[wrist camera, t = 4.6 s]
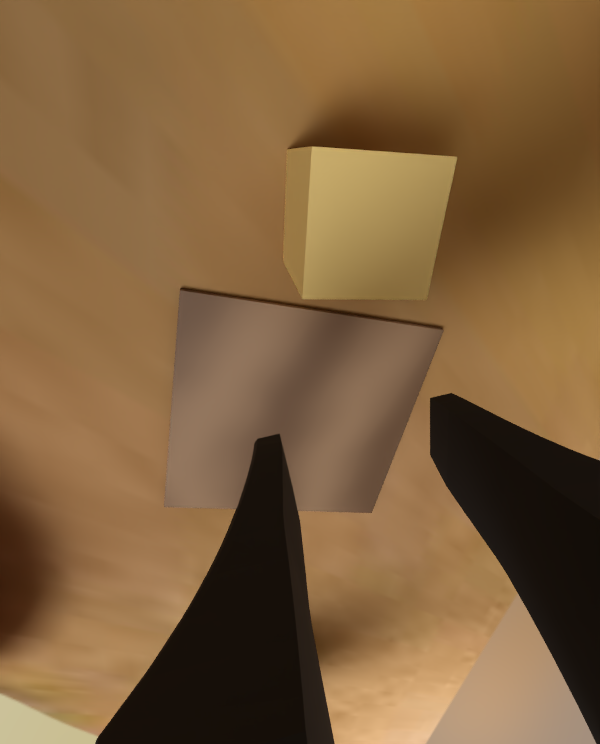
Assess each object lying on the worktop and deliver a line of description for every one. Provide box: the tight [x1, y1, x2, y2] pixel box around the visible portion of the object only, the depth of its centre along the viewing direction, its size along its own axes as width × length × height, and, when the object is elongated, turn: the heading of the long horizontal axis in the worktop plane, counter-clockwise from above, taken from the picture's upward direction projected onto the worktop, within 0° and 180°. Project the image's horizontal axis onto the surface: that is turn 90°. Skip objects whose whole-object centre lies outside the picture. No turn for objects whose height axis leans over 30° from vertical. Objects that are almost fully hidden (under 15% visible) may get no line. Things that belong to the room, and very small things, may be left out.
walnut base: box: [164, 289, 444, 513], centre depth 20 cm, size 12×12×1 cm
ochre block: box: [283, 146, 457, 300], centre depth 14 cm, size 4×4×6 cm
